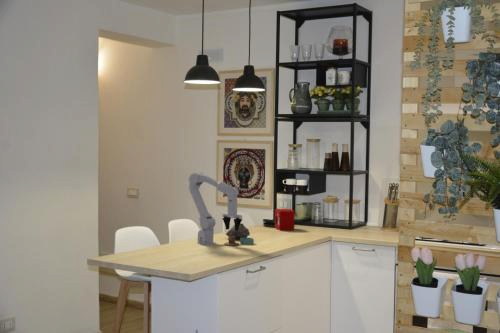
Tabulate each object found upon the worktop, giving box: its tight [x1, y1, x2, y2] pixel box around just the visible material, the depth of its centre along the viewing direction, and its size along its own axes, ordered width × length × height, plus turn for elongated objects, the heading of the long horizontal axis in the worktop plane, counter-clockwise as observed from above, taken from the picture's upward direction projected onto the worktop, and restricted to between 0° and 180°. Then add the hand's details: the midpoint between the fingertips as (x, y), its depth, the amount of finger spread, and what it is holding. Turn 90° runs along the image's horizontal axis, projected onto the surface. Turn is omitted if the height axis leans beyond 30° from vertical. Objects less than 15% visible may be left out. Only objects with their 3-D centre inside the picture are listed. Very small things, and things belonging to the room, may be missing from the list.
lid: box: [224, 236, 240, 247], centre depth 369 cm, size 9×9×5 cm
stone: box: [225, 223, 251, 241], centre depth 395 cm, size 18×10×15 cm
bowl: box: [239, 237, 254, 246], centre depth 375 cm, size 8×8×4 cm
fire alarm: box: [274, 208, 295, 232], centre depth 451 cm, size 16×11×15 cm
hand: (232, 229), depth 369 cm, fingers open, 7 cm apart
